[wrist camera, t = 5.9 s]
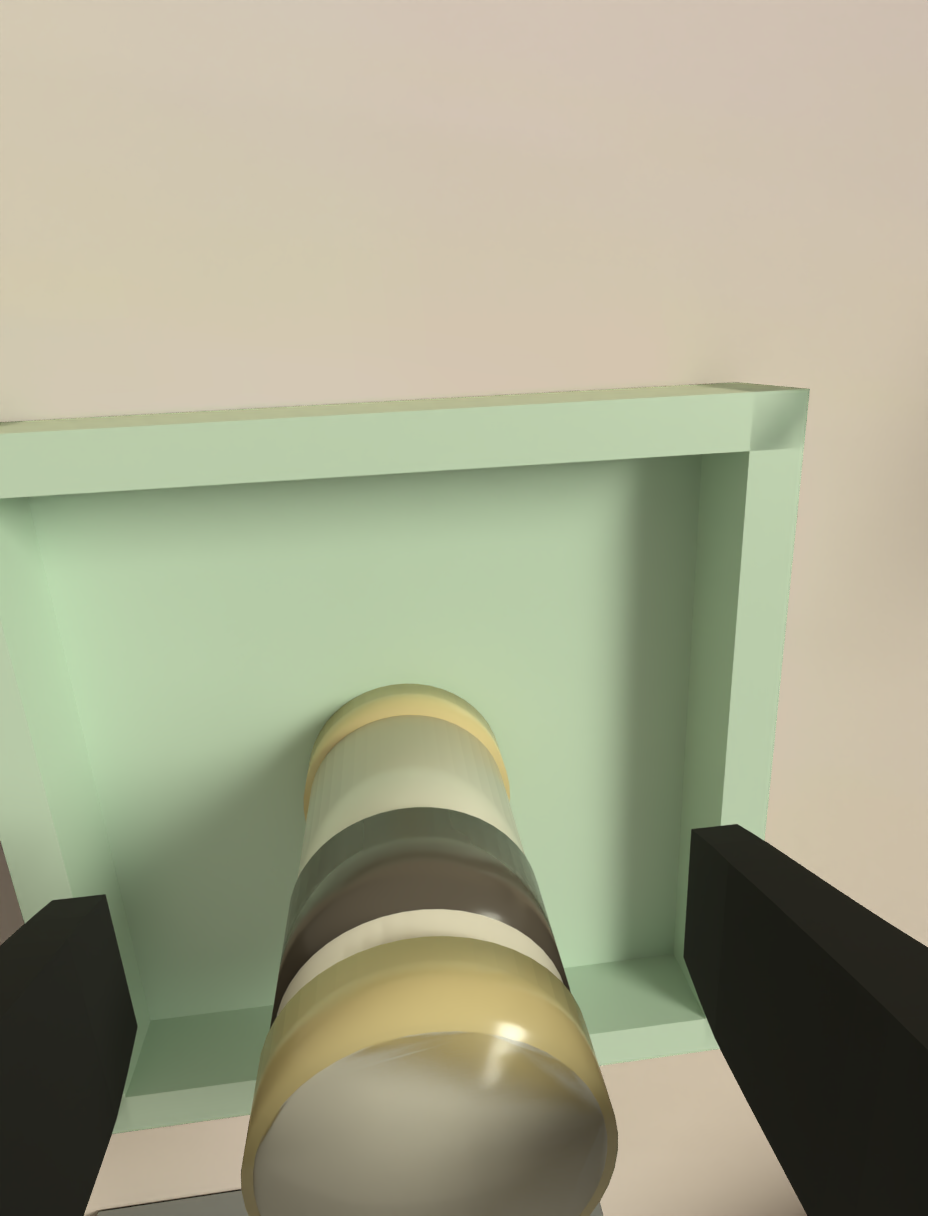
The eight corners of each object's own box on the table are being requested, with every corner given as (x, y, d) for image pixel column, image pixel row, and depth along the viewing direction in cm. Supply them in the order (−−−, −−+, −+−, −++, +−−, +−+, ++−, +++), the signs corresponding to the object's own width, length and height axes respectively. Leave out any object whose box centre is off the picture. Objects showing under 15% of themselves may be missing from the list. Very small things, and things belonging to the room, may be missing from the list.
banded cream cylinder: (502, 679, 13) (632, 1006, 6) (499, 846, 14) (605, 1274, 8) (302, 687, 13) (223, 1039, 6) (313, 859, 14) (257, 1318, 7)
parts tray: (737, 382, 13) (809, 388, 10) (697, 958, 16) (743, 1045, 14) (-28, 423, 11) (-116, 439, 9) (125, 1031, 15) (87, 1138, 13)
